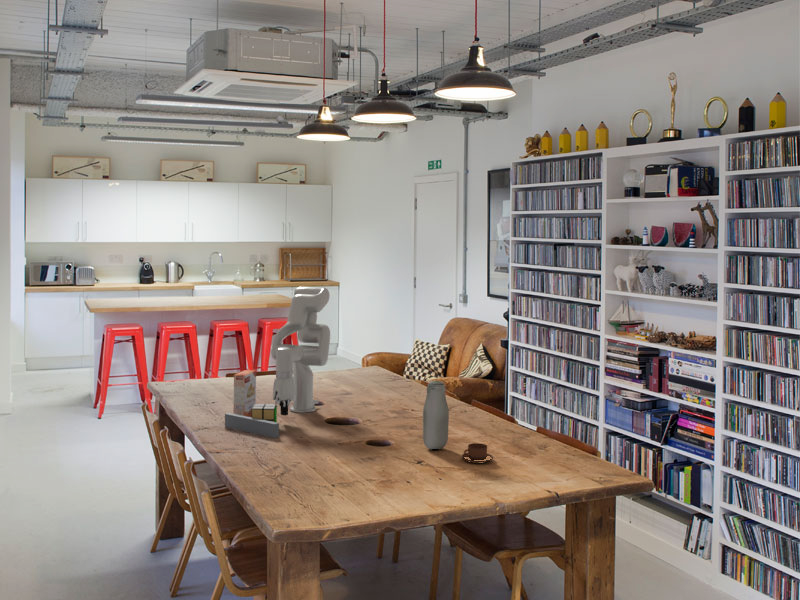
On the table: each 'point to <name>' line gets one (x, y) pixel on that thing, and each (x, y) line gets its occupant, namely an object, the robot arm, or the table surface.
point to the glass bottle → (435, 416)
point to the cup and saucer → (476, 452)
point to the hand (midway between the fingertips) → (284, 414)
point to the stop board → (252, 425)
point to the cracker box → (244, 392)
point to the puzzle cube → (264, 412)
